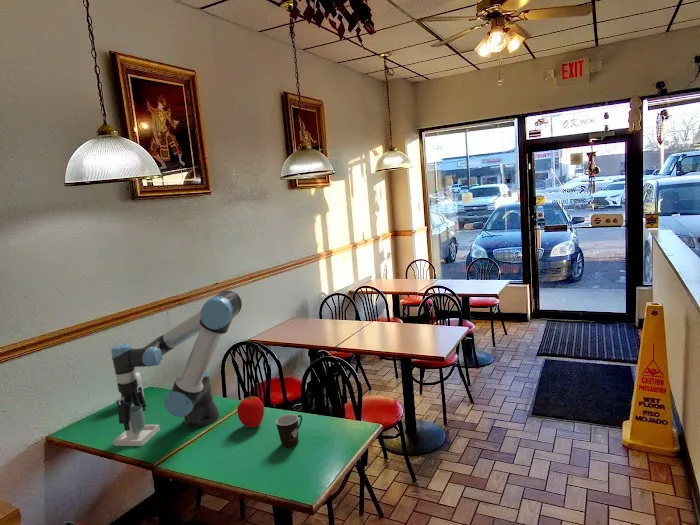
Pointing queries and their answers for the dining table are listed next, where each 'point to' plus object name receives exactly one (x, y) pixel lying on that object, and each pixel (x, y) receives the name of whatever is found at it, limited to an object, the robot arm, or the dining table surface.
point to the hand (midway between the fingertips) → (136, 430)
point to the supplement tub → (138, 384)
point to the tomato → (251, 411)
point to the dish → (137, 437)
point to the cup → (137, 419)
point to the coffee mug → (288, 430)
